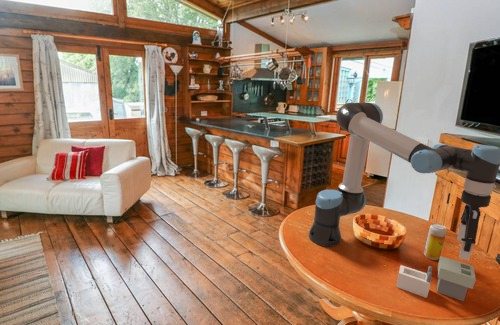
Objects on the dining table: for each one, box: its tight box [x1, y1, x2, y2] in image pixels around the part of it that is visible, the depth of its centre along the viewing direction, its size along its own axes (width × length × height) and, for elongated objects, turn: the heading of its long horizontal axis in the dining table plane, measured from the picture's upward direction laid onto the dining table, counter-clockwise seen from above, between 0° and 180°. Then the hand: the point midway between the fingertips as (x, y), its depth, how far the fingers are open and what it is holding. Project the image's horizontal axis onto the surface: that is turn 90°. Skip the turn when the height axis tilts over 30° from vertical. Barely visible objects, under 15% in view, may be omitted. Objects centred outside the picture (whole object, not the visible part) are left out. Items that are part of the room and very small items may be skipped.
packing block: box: [436, 278, 468, 302], centre depth 104 cm, size 8×5×7 cm, turn 57°
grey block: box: [437, 255, 476, 290], centre depth 102 cm, size 10×9×4 cm
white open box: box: [395, 264, 433, 299], centre depth 105 cm, size 10×6×10 cm, turn 57°
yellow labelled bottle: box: [423, 223, 447, 261], centre depth 125 cm, size 6×6×15 cm
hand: (462, 249), depth 100 cm, fingers open, 13 cm apart
